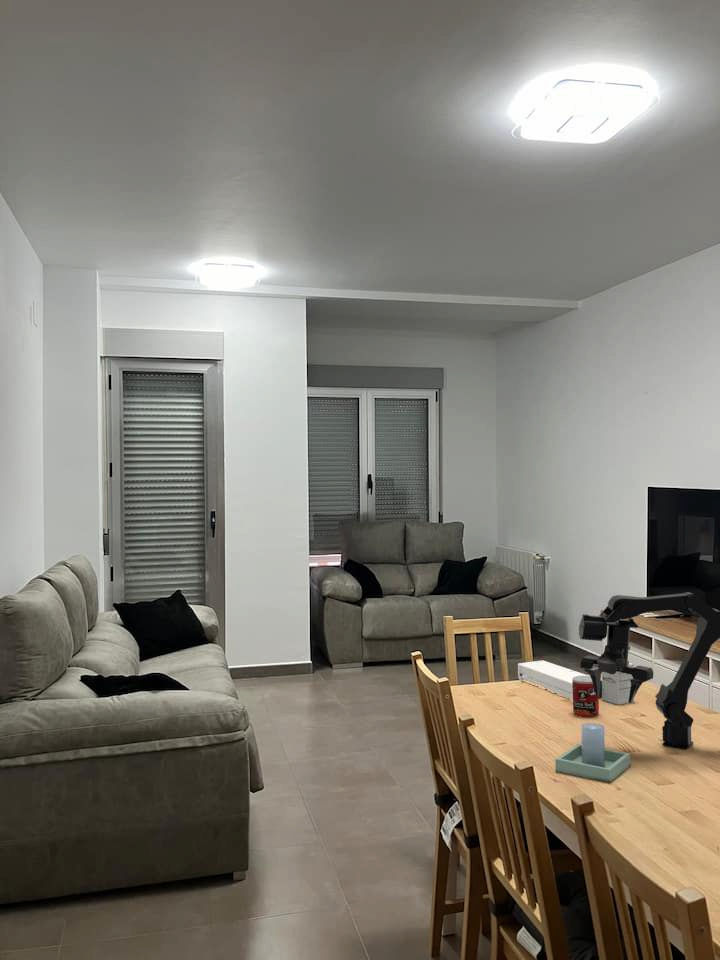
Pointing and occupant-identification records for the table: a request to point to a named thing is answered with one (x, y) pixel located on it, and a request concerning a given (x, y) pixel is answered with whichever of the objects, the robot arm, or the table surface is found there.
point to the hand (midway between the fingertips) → (613, 699)
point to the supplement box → (616, 687)
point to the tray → (573, 765)
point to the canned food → (584, 697)
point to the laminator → (550, 677)
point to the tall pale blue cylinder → (593, 744)
